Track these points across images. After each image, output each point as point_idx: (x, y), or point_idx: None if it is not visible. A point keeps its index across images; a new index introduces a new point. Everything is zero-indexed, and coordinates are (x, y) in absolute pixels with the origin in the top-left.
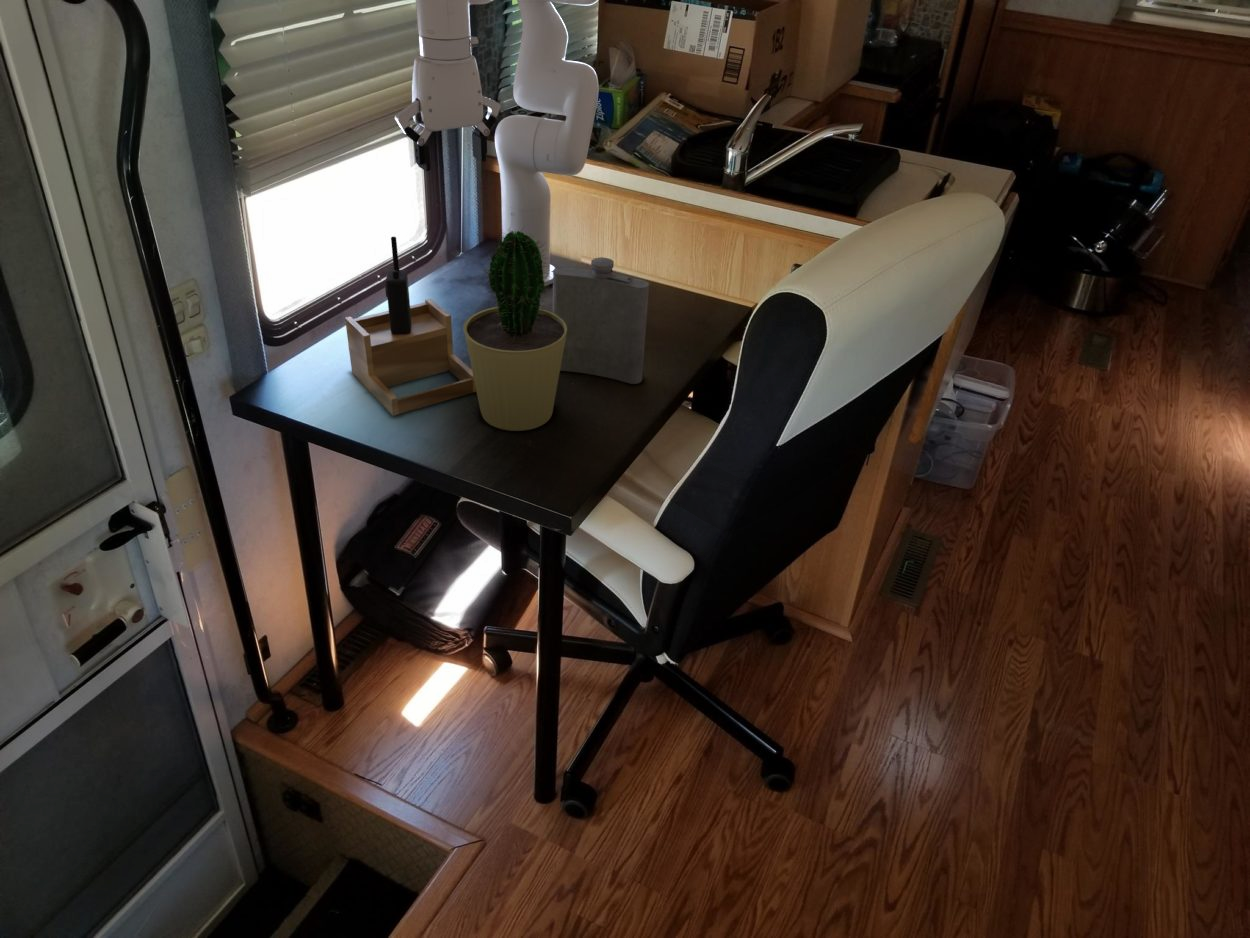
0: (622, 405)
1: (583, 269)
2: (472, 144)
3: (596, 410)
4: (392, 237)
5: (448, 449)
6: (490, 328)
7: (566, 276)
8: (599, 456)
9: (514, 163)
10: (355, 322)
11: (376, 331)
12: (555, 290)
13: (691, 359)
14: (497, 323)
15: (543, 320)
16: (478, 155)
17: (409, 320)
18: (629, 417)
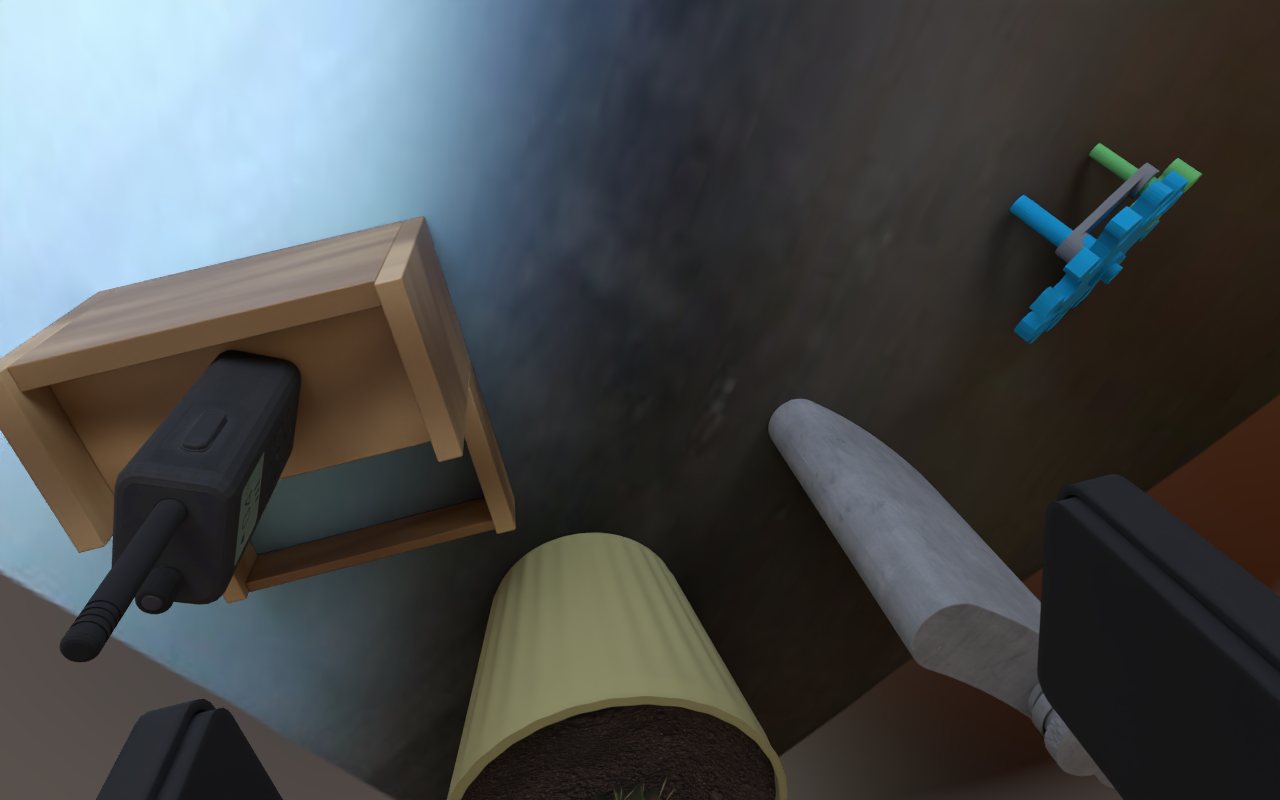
0: (843, 628)
1: (1034, 636)
2: (1180, 612)
3: (775, 636)
4: (69, 653)
5: (377, 715)
6: (540, 796)
7: (939, 671)
8: None
9: None
10: (28, 433)
11: (145, 409)
12: (878, 601)
13: (1135, 471)
14: (576, 765)
15: (735, 760)
16: (1077, 668)
17: (278, 479)
18: (830, 673)
